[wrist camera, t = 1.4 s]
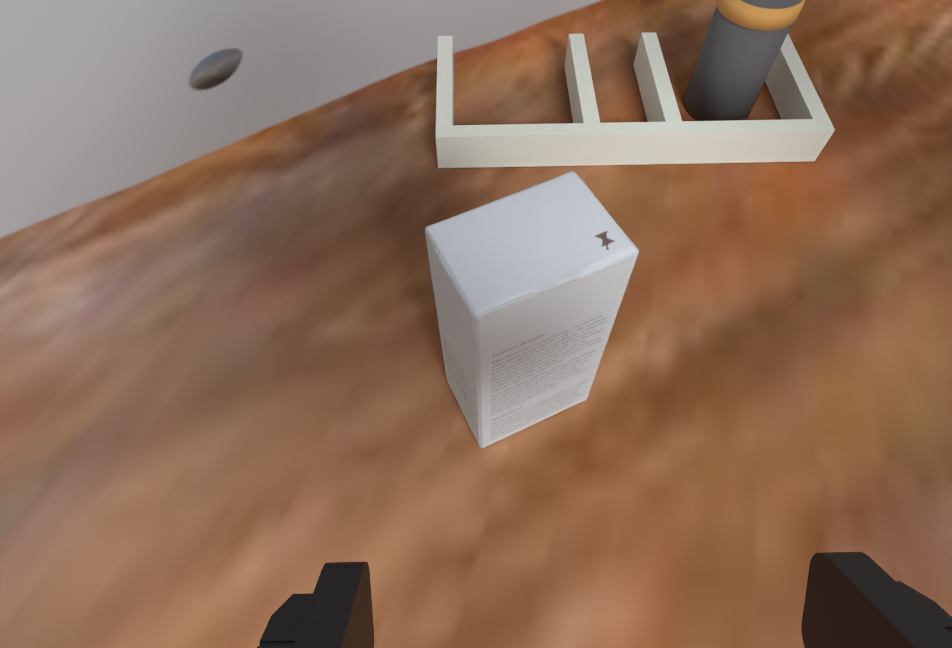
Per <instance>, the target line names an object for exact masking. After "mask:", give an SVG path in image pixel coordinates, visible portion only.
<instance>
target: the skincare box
mask: <svg viewBox="0 0 952 648" xmlns="http://www.w3.org/2000/svg"><path fill="white" fill-rule="evenodd" d="M425 236H426V243H427V250H428V257H429V263H430V270H431V277H432V284H433V291H434V297H435V303H436V310H437V317H438V324H439V331H440V338H441V345H442V351H443V358H444V365H445V372H446V379H447V382H448V384H449V386H450V388H451V390H452V392H453V394H454V396H455V398H456V400H457V402H458V404H459V406H460V408H461V410H462V412H463V414H464V417H465V419H466V421H467V423H468V425H469V427H470V429H471V431H472V433H473V435H474V437H475V439H476V441H477V443H478V445H479V446H480V447H481V448H484V447H486V446H488V445H490V444H493V443H495V442H497V441H499V440H501V439H503V438H506V437H508V436H510V435H512V434H514V433H516V432H518V431H521V430H523V429H525V428H527V427H529V426H531V425H533V424H535V423H538V422H540V421H542V420H544V419H546V418H548V417H550V416H552V415H555V414H557V413H559V412H561V411H563V410H565V409H567V408H569V407H571V406H574V405H576V404H578V403H580V402H583V401H585V400H586V399H587V398H588V395H589V392H590V389H591V387H592V384H593V381H594V378H595V375H596V372H597V369H598V366H599V363H600V360H601V358H602V355H603V352H604V349H605V346H606V344H607V341H608V338H609V335H610V332H611V329H612V327H613V324H614V321H615V318H616V315H617V312H618V309H619V307H620V304H621V301H622V298H623V295H624V293H625V290H626V287H627V284H628V282H629V279H630V276H631V273H632V270H633V268H634V265H635V262H636V259H637V256H638V253H639V250H638V248H637V247H636V246H635V245H634V244H633V243H632V241H631V240H630V239H629V238H628V237H627V235H626V234H625V233H624V232H623V231H622V229H621V228H620V227H619V226H618V225H617V223H616V222H615V221H614V220H613V218H612V217H611V216H610V215H609V213H608V212H607V211H606V210H605V208H604V207H603V206H602V204H601V203H600V202H599V201H598V199H597V198H596V197H595V196H594V194H593V193H592V192H591V191H590V189H589V188H588V187H587V186H586V184H585V183H584V182H583V181H582V180H581V179H580V177H579V176H578V175H577V174H576V173H575V172H574V171H571V172H568V173H566V174H563V175H561V176H558V177H556V178H553V179H551V180H548V181H545V182H543V183H540V184H537V185H535V186H532V187H529V188H527V189H524V190H522V191H519V192H516V193H514V194H511V195H509V196H506V197H503V198H501V199H498V200H495V201H493V202H490V203H488V204H485V205H483V206H480V207H477V208H475V209H472V210H469V211H467V212H464V213H461V214H459V215H456V216H453V217H451V218H448V219H446V220H443V221H440V222H438V223H435V224H432V225H429V226H427V227H426V228H425Z"/></svg>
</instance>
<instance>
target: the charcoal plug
mask: <svg viewBox="0 0 952 648" xmlns="http://www.w3.org/2000/svg"><path fill="white" fill-rule="evenodd" d="M804 3H805V0H717V7H716V10H715V13H714V15H713V18H712V21H711V24H710V27H709V30H708V32H707V35H706V38H705V41H704V44H703V47H702V49H701V52H700V55H699V58H698V61H697V64H696V66H695V69H694V72H693V75H692V78H691V81H690V83H689V86H688V89H687V92H686V95H685V98H684V106H685V109H686V111H687V112H688V113H689V114H690V115H691V116H692V117H693V118H694V119H696V120H697V121H732V120H746V119H747V117H748V115H749V113H750V111H751V109H752V107H753V105H754V103H755V101H756V99H757V97H758V95H759V92H760V90H761V88H762V86H763V84H764V82H765V80H766V78H767V76H768V74H769V72H770V69H771V67H772V65H773V63H774V61H775V59H776V57H777V55H778V53H779V51H780V49H781V46H782V44H783V42H784V40H785V38H786V36H787V34H788V32H789V30H790V28H791V26H792V24H793V23H794V22H795V21H796V19H797V17H798V15H799V13H800V11H801V9H802V7H803V5H804Z"/></svg>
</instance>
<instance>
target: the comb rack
mask: <svg viewBox="0 0 952 648" xmlns="http://www.w3.org/2000/svg"><path fill="white" fill-rule="evenodd" d="M437 55H438V56H437V96H436V149H437V161H438V168H474V167H529V166H585V165H640V164H695V163H750V162H805V161H815V160H816V158H817V157H818V155H819V154H820V152H821V151H822V149H823V148H824V146H825V145H826V143H827V142H828V140H829V138H830V137H831V135H832V134H833V132H834V131H835V129H834V127H833V125H832V123H831V121H830V119H829V117H828V115H827V113H826V111H825V109H824V106H823V104H822V102H821V100H820V98H819V96H818V94H817V92H816V90H815V88H814V86H813V84H812V82H811V80H810V78H809V76H808V74H807V71H806V69H805V67H804V65H803V63H802V61H801V59H800V57H799V55H798V53H797V51H796V49H795V47H794V45H793V43H792V41H791V39H790V37H789V34H787V36H786V38H785V40H784V42H783V44H782V46H781V49H780V51H779V53H778V55H777V57H776V59H775V61H774V63H773V65H772V67H771V69H770V72H769V74H768V76H767V78H766V80H765V82H766V85H767V87H768V90H769V92H770V94H771V97H772V99H773V101H774V104H775V106H776V108H777V111H778V113H779V116H780V118H781V120H732V121H682V119H681V116H680V112H679V109H678V105H677V102H676V99H675V95H674V92H673V88H672V85H671V82H670V78H669V75H668V72H667V68H666V65H665V61H664V58H663V55H662V51H661V48H660V44H659V41H658V38H657V34H656V32H655V33H641V37H640V41H639V45H638V49H637V53H636V57H635V61H634V65H633V66H634V70H635V74H636V78H637V82H638V86H639V90H640V94H641V98H642V102H643V106H644V110H645V114H646V118H647V122H619V123H600V119H599V114H598V109H597V103H596V98H595V93H594V87H593V82H592V77H591V71H590V66H589V61H588V56H587V50H586V45H585V40H584V34H569V36H568V44H567V51H566V58H565V65H564V67H565V74H566V80H567V87H568V93H569V100H570V106H571V113H572V119H573V123H563V124H507V125H454V61H453V37H452V36H438V53H437Z"/></svg>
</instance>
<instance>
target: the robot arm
mask: <svg viewBox="0 0 952 648" xmlns="http://www.w3.org/2000/svg"><path fill="white" fill-rule="evenodd" d="M802 637H803V642H804V646H805V648H952V617H951V616H950V615H949V614H948V613H947V612H945V611H944V610H943V609H942V608H941V607H940V606H939V605H938V604H937V603H936V602H934V601H932V600H931V599H929V598H927V597H926V596H924V595H922V594H921V593H919V592H917V591H916V590H914V589H912V588H911V587H909V586H907V585H905V584H904V583H902V582H900V581H899V582H895V581H894V580H893V579H892V578H891V577H890V576H889V575H888V574H887V573H886V572H885V571H884V570H883V569H882V568H881V567H880V566H879V565H878V564H876V563H875V562H874V561H873V560H872V559H871V558H870V557H869V556H868V555H866V554H864V553H862V552H832V553H816V554H815V555H814V556H813V557H812V559H811V562H810V567H809V575H808V582H807V589H806V596H805V604H804V611H803V618H802ZM257 648H374V628H373V614H372V600H371V586H370V572H369V566H368V563H367V562H336V563H325V565H324V566H323V568H322V571H321V574H320V576H319V579H318V582H317V584H316V587H315V590H314V592H313V594H293V595H292V596H291V597H290V598H289V599H288V600H287V601H286V602H285V603H284V604H283V605H282V606H281V607H280V608H279V609H278V610H277V611H276V612H275V613H274V614H273V615H272V616H271V618H270V620H269V622H268V624H267V627H266V629H265V631H264V633H263V635H262V638H261V640H260V645H259V647H257Z"/></svg>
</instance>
